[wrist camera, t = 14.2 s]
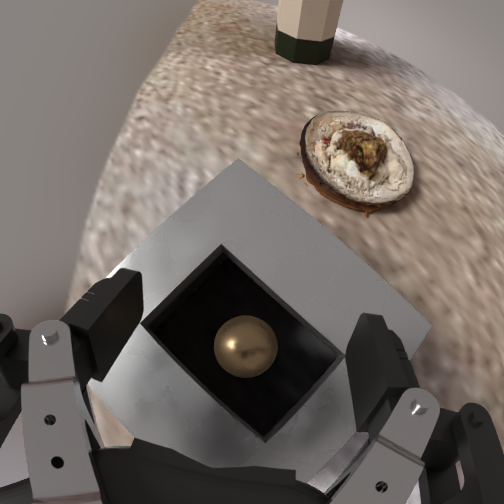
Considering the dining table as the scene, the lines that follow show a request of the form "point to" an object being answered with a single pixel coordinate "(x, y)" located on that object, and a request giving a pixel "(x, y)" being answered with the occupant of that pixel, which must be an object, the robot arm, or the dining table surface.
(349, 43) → the dining table surface
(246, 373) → the brown glossy cylinder
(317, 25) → the wine bottle
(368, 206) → the plate of food
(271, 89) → the dining table surface
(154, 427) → the box
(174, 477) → the robot arm
